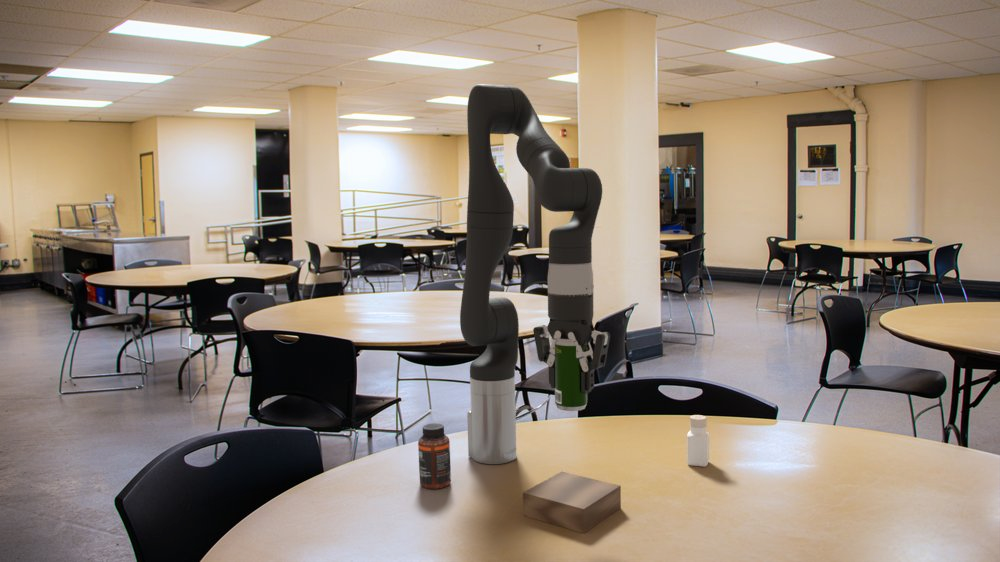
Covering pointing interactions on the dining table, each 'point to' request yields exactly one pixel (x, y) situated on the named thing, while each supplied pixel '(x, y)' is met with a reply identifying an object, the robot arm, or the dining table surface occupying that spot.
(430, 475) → the supplement bottle
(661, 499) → the dining table surface
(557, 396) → the beer can
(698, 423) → the pepper shaker
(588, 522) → the walnut plinth
